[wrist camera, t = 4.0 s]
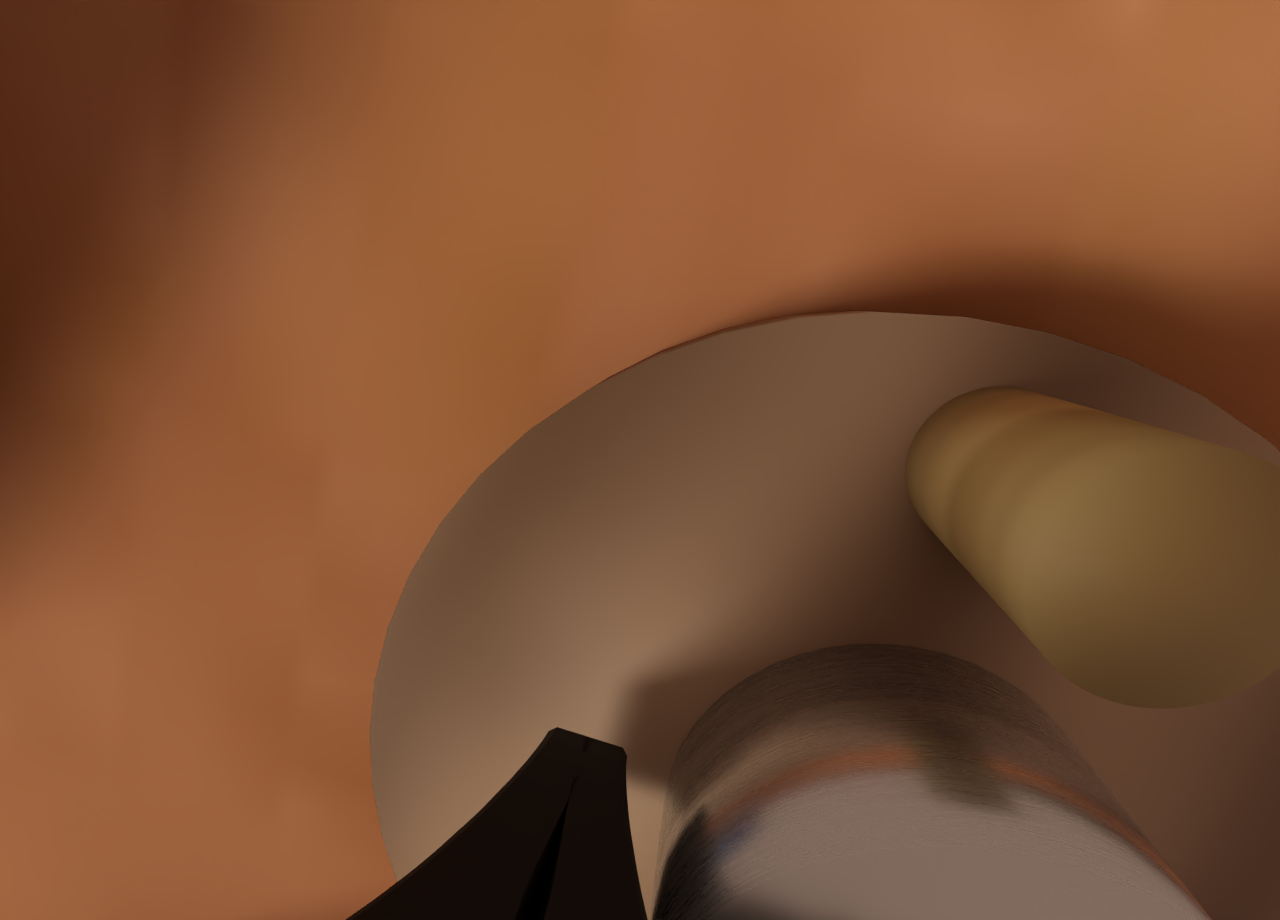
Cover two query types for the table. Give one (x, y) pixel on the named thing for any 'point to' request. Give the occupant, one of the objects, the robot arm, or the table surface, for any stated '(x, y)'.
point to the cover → (896, 803)
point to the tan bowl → (859, 572)
